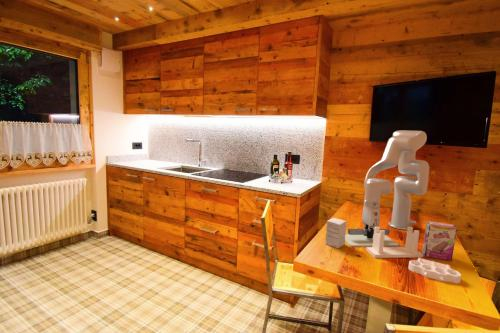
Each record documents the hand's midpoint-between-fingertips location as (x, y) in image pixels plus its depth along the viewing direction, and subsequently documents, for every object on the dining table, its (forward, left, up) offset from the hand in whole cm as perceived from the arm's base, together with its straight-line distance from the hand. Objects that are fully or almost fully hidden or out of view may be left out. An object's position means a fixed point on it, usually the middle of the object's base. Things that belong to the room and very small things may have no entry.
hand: (368, 236), depth 145 cm
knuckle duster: (-11, +32, -3) cm, 34 cm away
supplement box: (+20, +4, -2) cm, 20 cm away
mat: (0, 0, -2) cm, 2 cm away
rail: (0, 0, +2) cm, 2 cm away
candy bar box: (-24, +19, -2) cm, 31 cm away
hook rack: (-5, +15, -2) cm, 16 cm away
